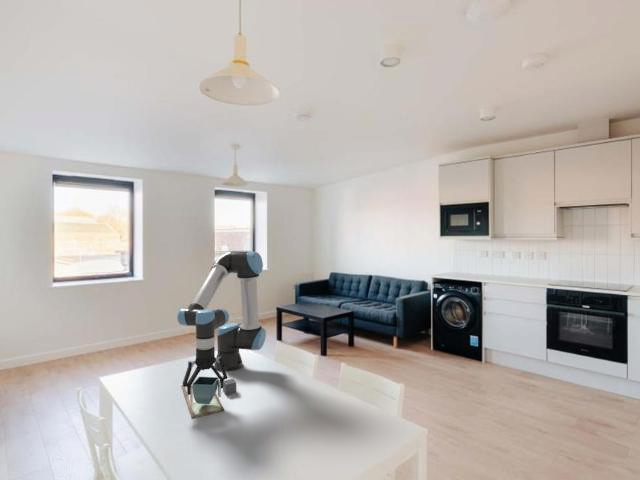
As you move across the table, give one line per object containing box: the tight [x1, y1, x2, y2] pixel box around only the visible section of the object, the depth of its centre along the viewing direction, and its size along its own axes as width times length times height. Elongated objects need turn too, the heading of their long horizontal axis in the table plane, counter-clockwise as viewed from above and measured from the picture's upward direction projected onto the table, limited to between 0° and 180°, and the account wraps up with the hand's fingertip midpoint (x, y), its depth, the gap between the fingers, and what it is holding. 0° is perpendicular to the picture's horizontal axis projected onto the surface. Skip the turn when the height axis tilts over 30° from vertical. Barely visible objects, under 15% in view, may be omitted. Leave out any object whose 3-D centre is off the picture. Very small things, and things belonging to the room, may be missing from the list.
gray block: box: [222, 378, 237, 396], centre depth 169 cm, size 5×5×5 cm
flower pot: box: [193, 376, 220, 404], centre depth 153 cm, size 9×9×9 cm
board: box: [181, 382, 225, 419], centre depth 163 cm, size 13×34×1 cm, turn 27°
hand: (205, 398), depth 153 cm, fingers closed on flower pot, 11 cm apart
